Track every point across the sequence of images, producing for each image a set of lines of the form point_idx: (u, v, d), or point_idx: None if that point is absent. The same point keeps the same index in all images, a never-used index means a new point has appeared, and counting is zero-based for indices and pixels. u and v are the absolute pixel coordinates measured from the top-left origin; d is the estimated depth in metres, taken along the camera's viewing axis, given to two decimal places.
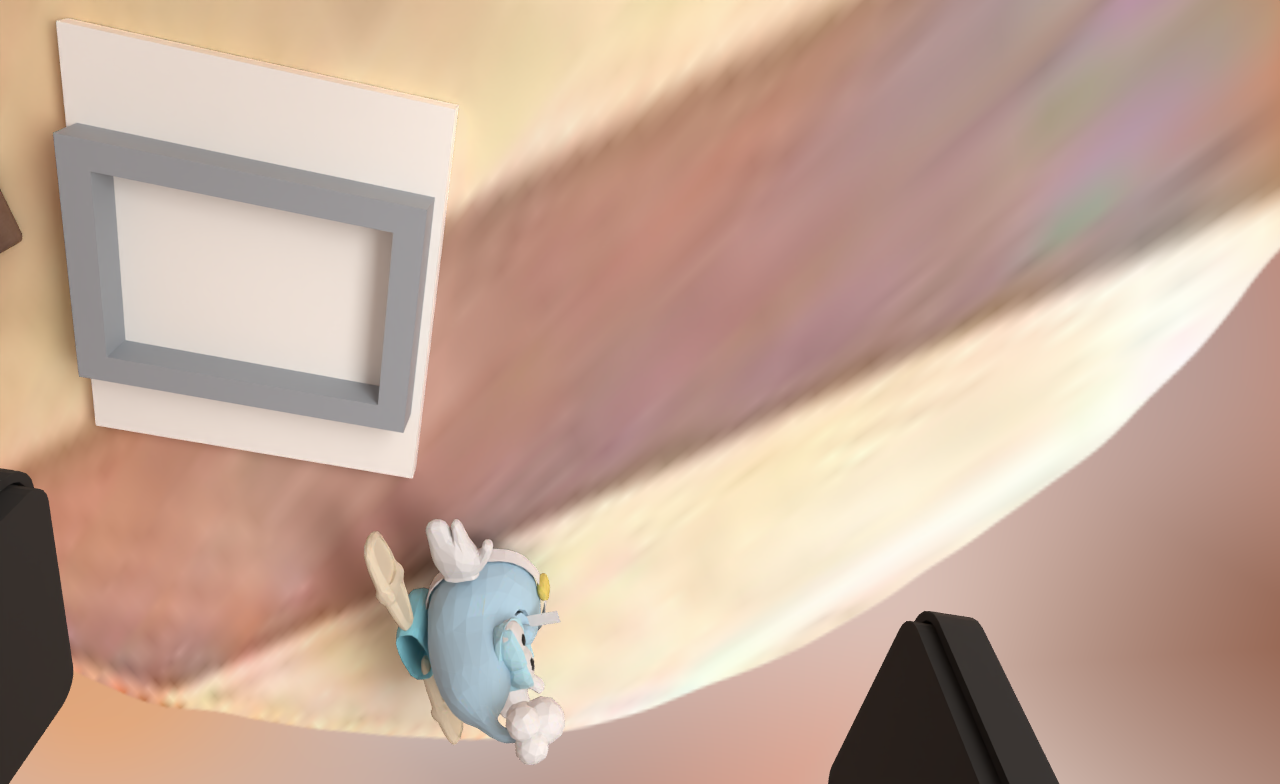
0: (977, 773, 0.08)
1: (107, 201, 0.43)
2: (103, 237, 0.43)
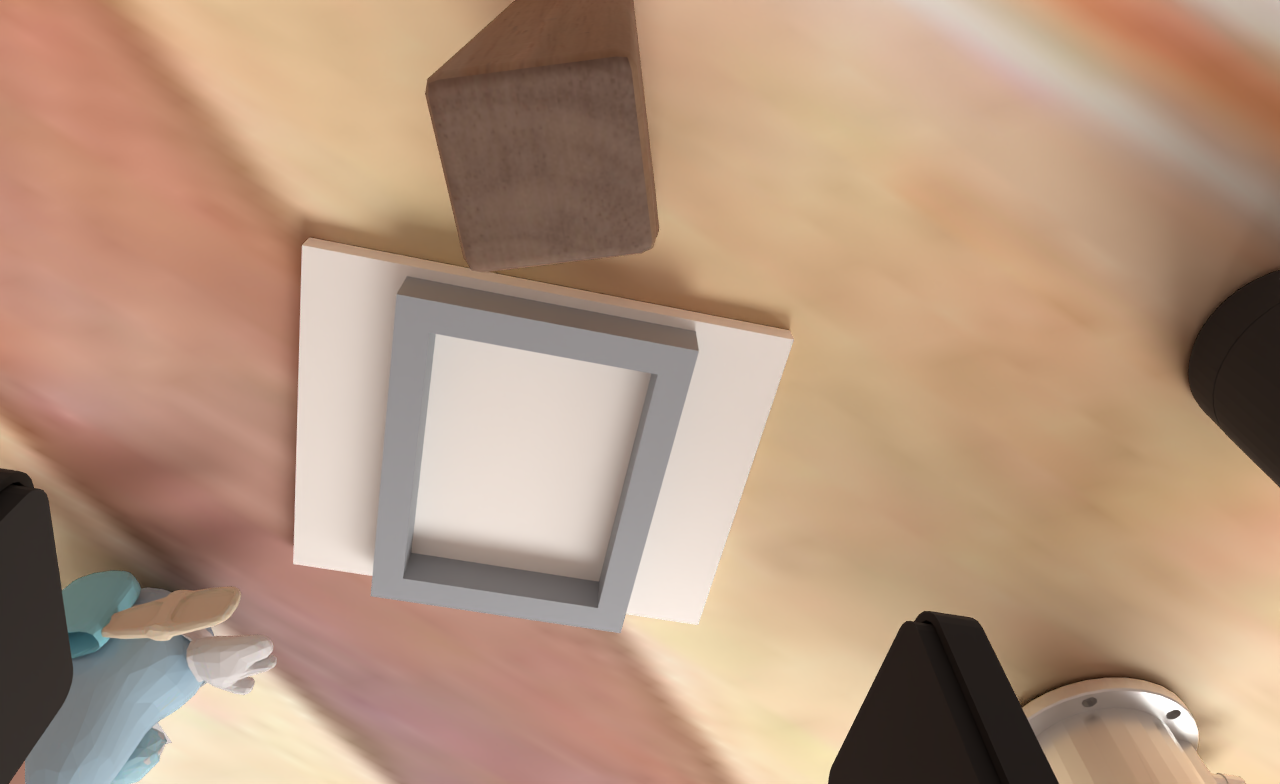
0: (977, 773, 0.08)
1: None
2: None
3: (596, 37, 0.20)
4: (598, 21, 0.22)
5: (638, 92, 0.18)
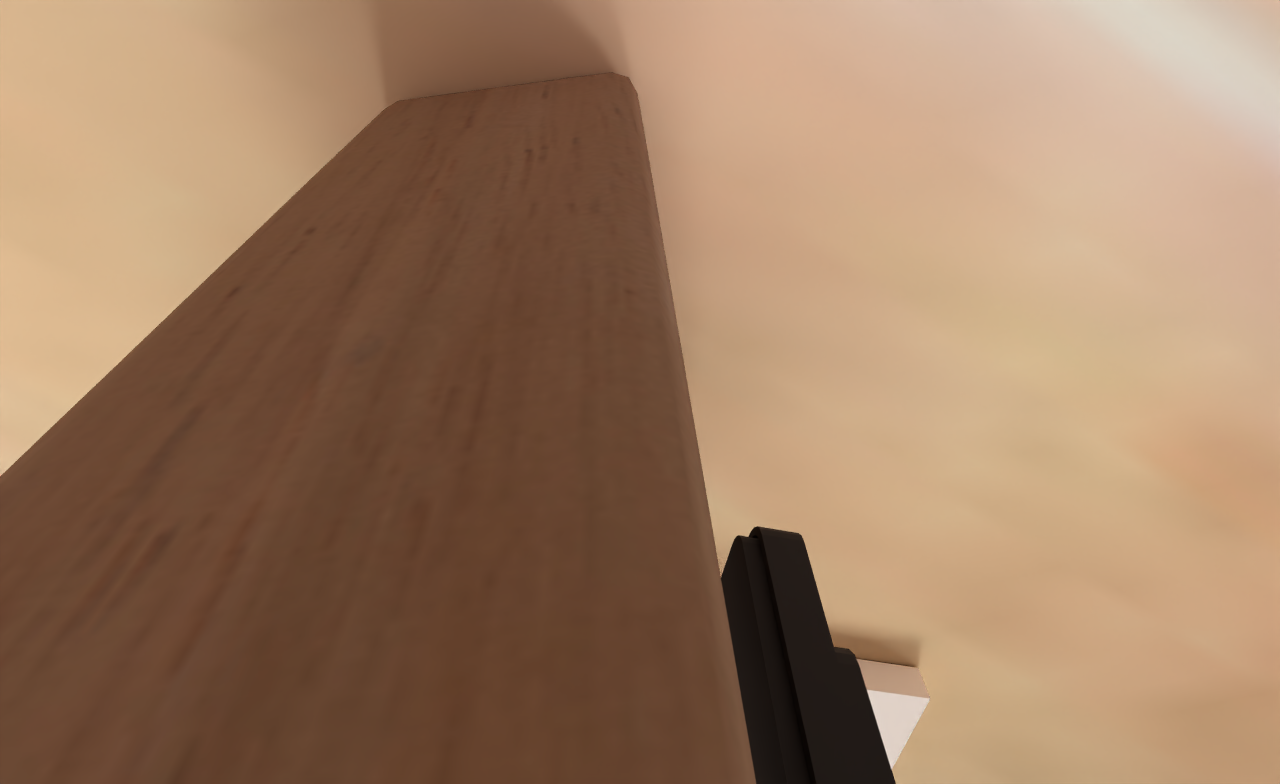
0: (767, 659, 0.08)
1: None
2: None
3: None
4: (530, 505, 0.04)
5: None
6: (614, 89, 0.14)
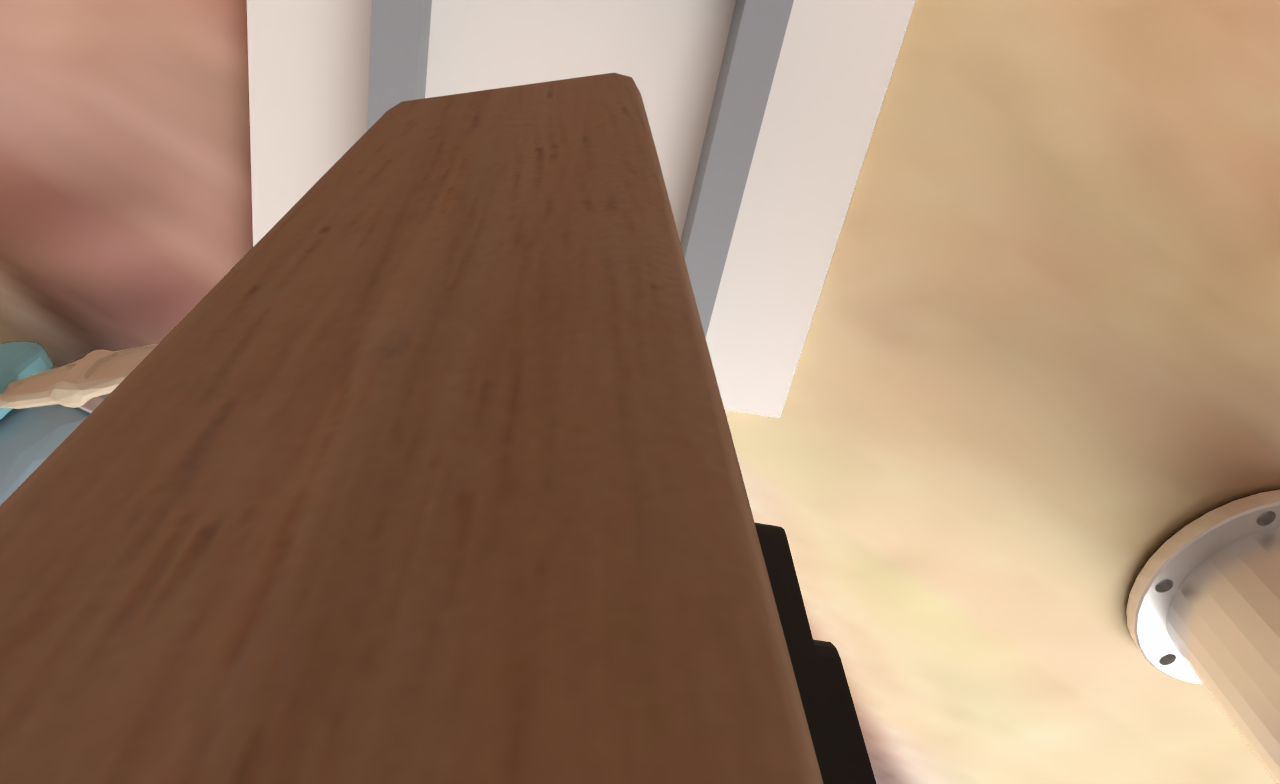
0: None
1: None
2: None
3: None
4: (575, 495, 0.04)
5: None
6: (619, 89, 0.14)
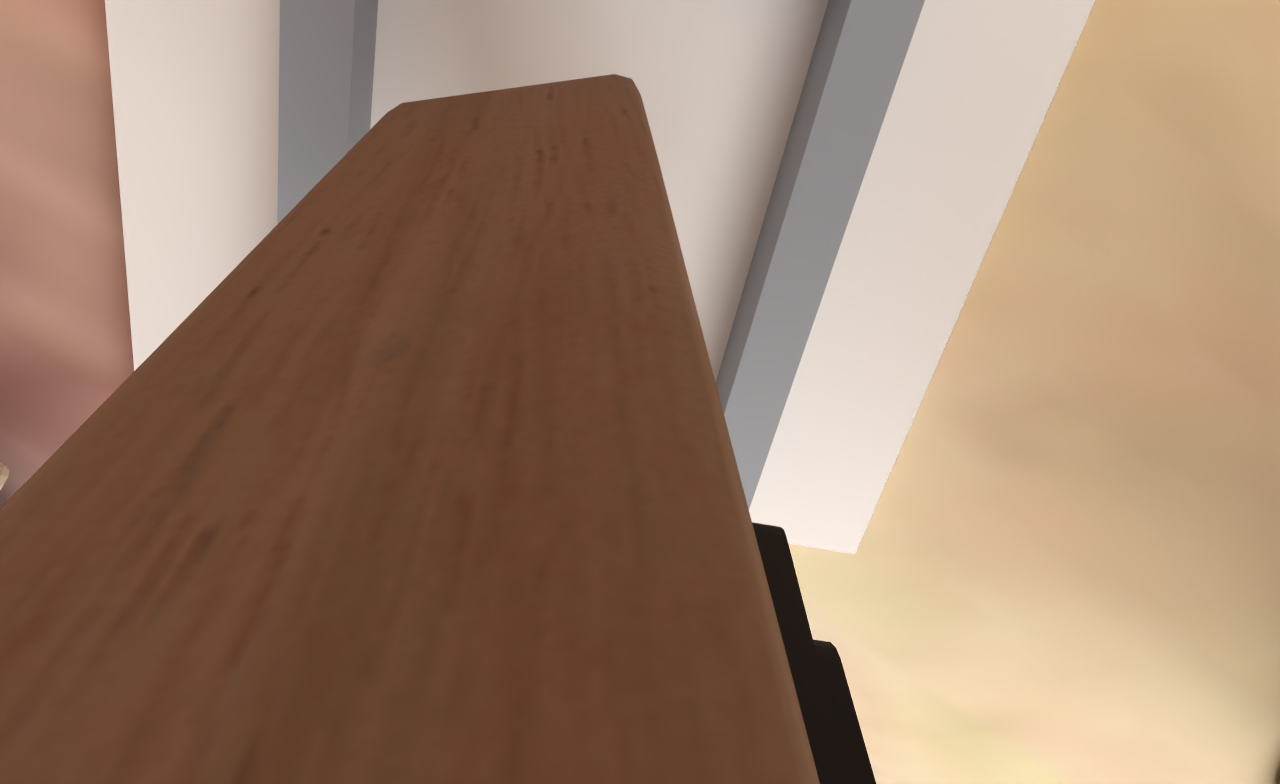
0: None
1: None
2: None
3: None
4: (574, 499, 0.04)
5: None
6: (619, 90, 0.14)
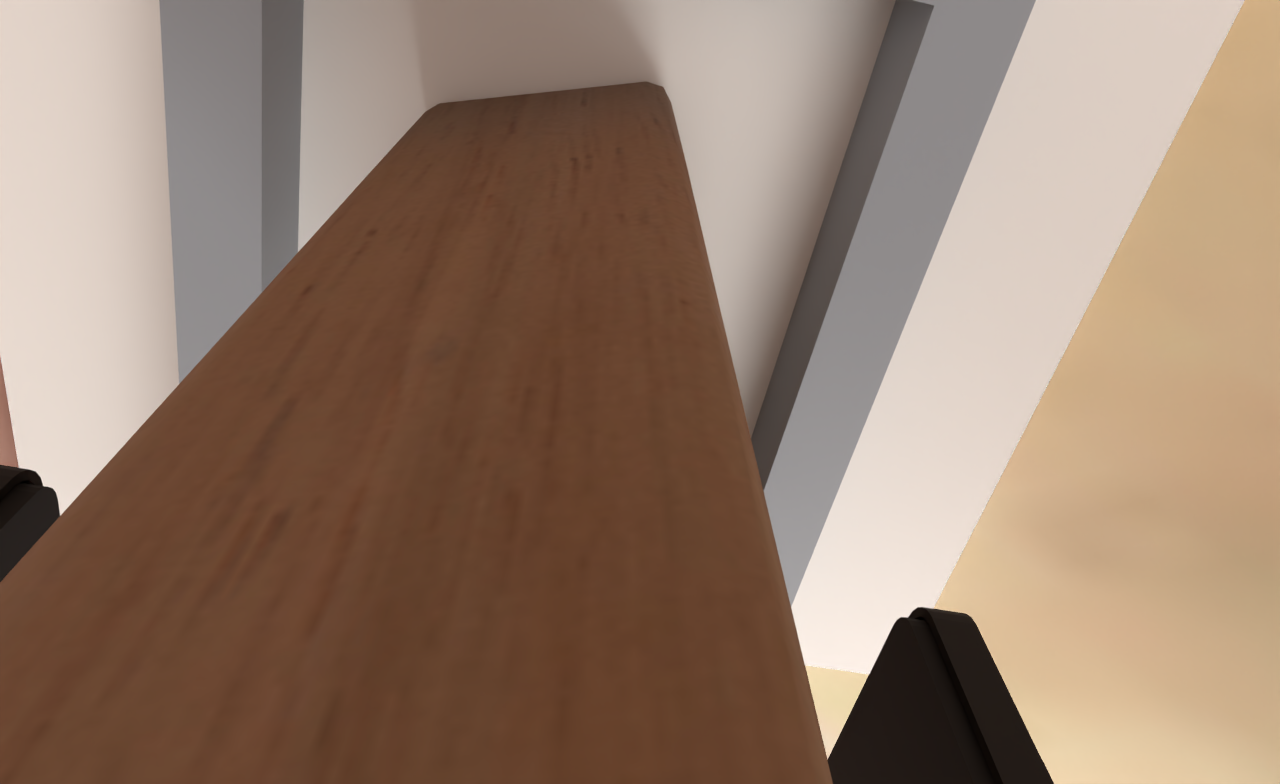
0: (969, 767, 0.08)
1: None
2: None
3: None
4: (612, 498, 0.05)
5: None
6: (651, 99, 0.14)
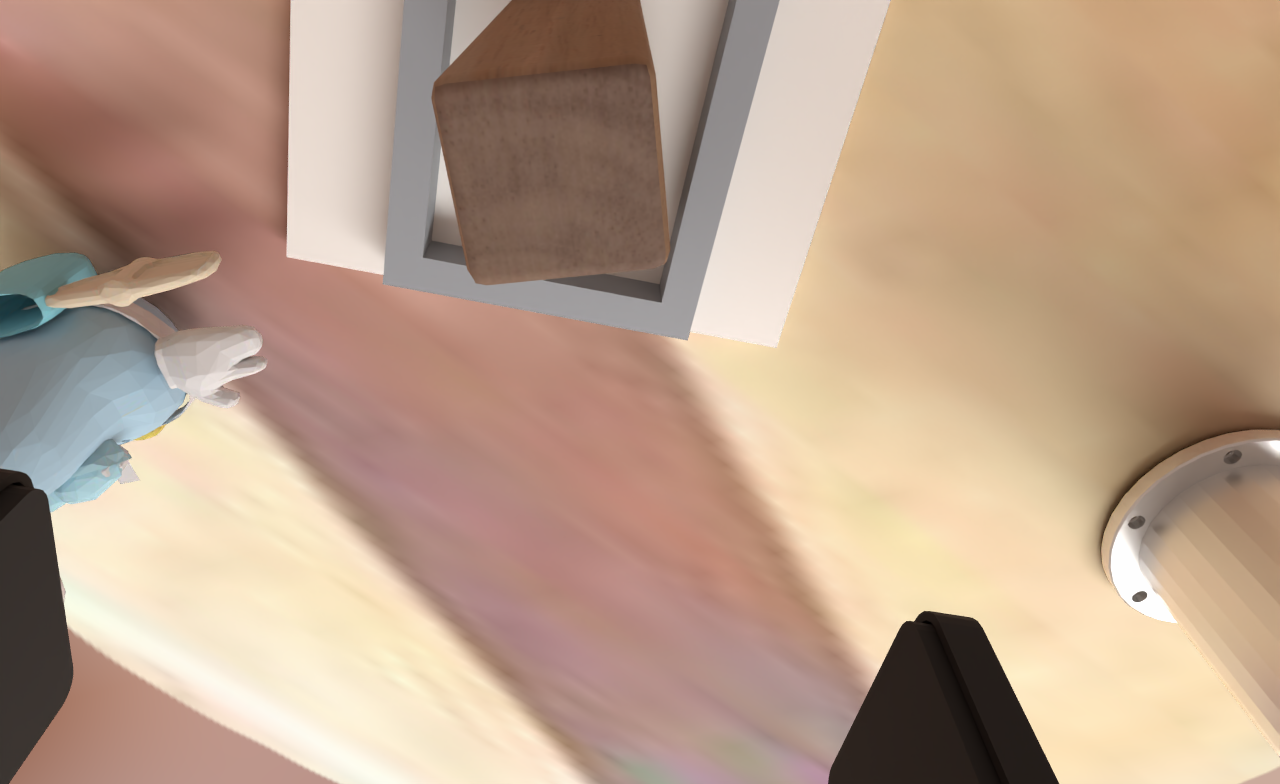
0: (977, 773, 0.08)
1: None
2: None
3: (610, 41, 0.19)
4: (609, 22, 0.21)
5: (656, 101, 0.17)
6: None
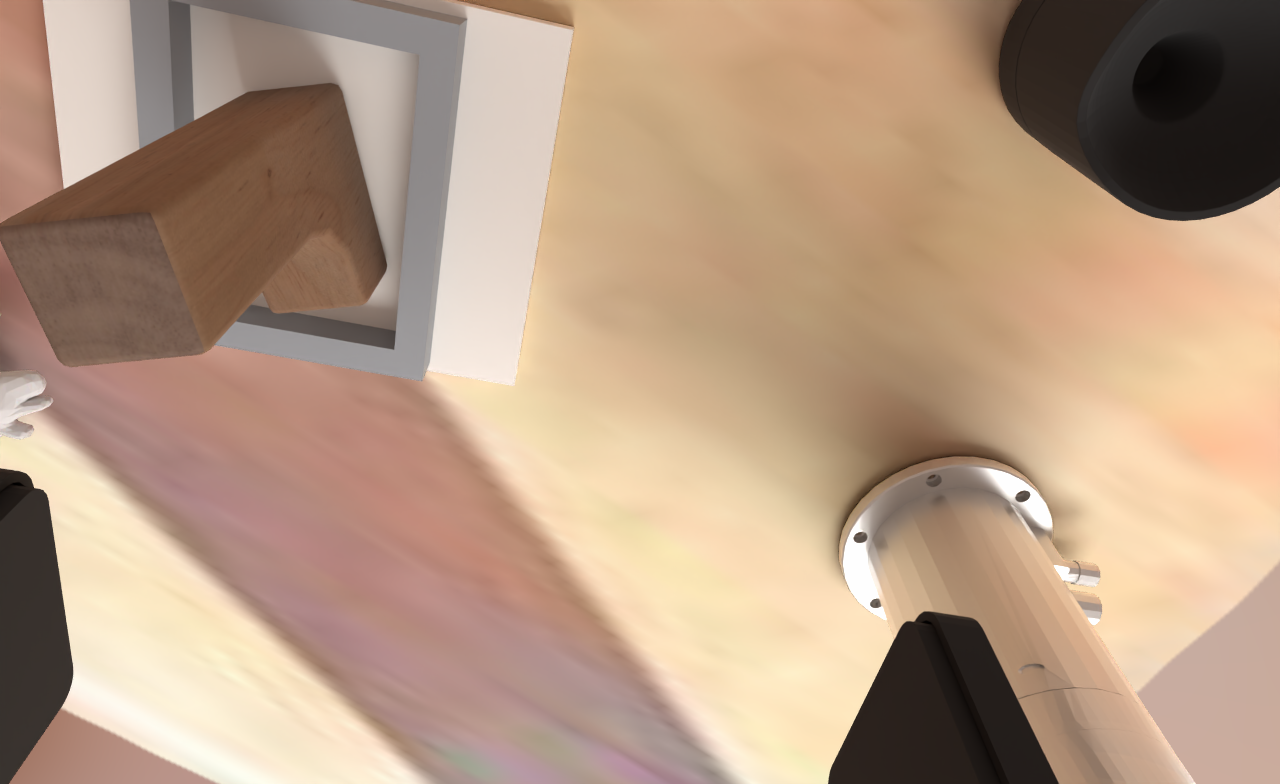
0: (977, 773, 0.08)
1: None
2: None
3: (162, 183, 0.25)
4: (204, 156, 0.28)
5: (168, 236, 0.24)
6: (321, 89, 0.37)
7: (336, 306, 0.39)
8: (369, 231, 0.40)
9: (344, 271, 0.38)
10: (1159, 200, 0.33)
